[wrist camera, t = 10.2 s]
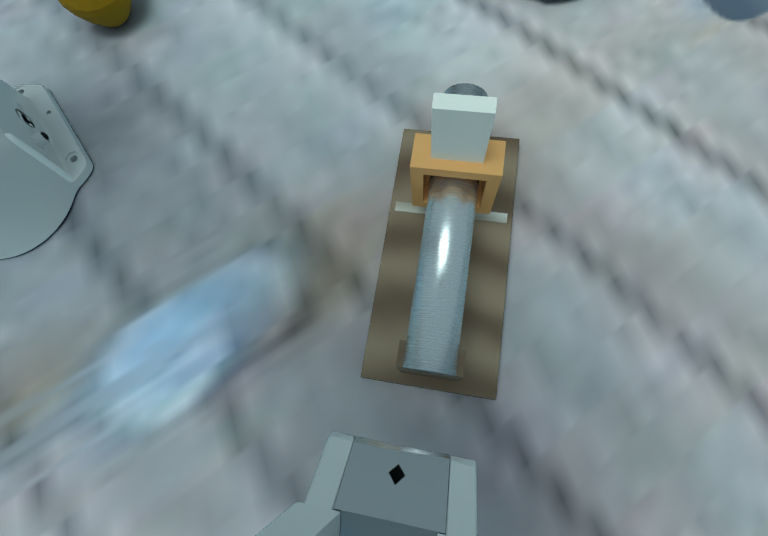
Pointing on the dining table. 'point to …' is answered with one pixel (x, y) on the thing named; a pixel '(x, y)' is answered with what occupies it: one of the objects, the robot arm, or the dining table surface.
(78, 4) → the apple
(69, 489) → the dining table surface
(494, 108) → the orange pipe clamp
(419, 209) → the pipe stand
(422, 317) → the pipe
